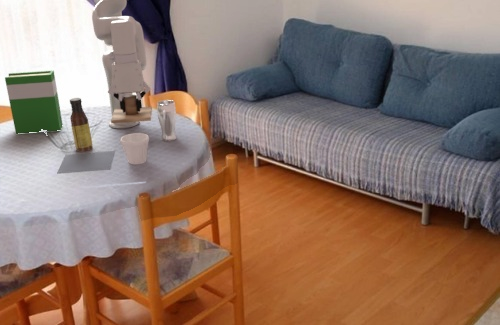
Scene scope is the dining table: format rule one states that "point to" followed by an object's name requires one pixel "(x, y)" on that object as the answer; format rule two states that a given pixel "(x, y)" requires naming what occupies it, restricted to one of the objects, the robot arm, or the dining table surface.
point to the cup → (135, 147)
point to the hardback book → (34, 101)
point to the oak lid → (131, 112)
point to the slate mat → (86, 162)
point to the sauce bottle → (80, 126)
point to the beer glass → (167, 119)
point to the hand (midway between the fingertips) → (131, 110)
